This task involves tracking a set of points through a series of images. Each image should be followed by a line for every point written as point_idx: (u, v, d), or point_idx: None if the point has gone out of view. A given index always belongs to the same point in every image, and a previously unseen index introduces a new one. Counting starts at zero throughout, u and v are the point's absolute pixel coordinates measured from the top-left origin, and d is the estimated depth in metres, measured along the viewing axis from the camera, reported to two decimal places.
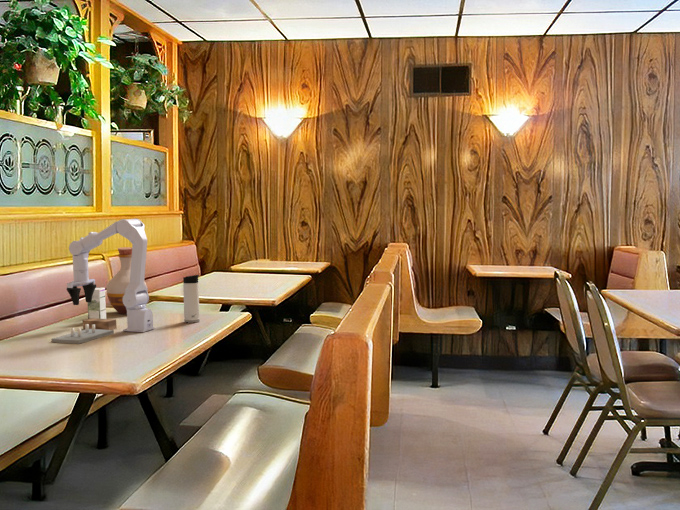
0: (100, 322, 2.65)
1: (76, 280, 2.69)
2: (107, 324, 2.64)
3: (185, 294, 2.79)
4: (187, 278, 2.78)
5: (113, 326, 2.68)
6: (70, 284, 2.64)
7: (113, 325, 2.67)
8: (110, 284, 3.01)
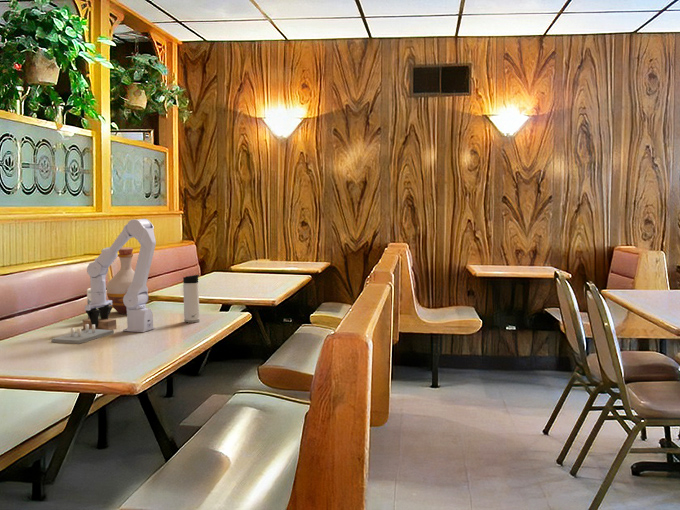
0: (100, 322, 2.65)
1: (94, 302, 2.65)
2: (107, 324, 2.64)
3: (185, 294, 2.79)
4: (187, 278, 2.78)
5: (113, 326, 2.67)
6: (88, 306, 2.61)
7: (113, 325, 2.67)
8: (110, 284, 3.01)
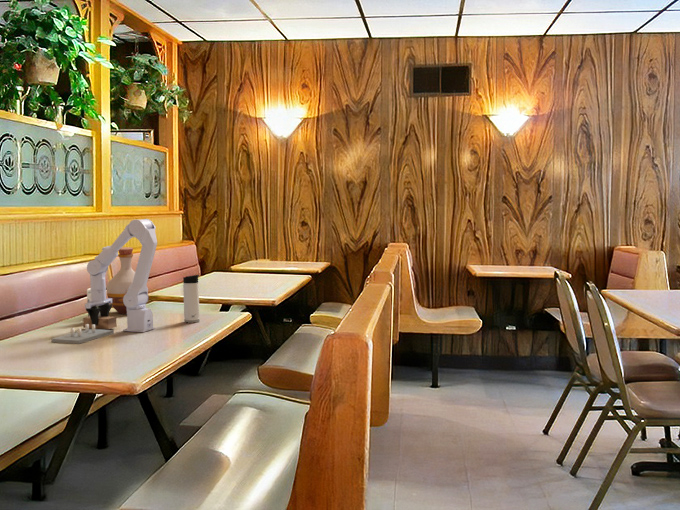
0: (100, 319, 2.65)
1: (94, 300, 2.65)
2: (107, 321, 2.64)
3: (185, 294, 2.79)
4: (187, 278, 2.78)
5: (113, 324, 2.67)
6: (88, 304, 2.61)
7: (113, 323, 2.67)
8: (110, 284, 3.01)
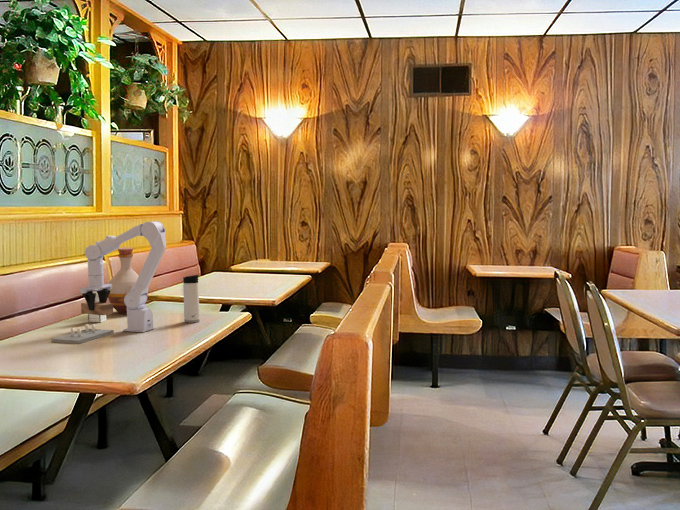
0: (96, 305, 2.63)
1: (90, 285, 2.63)
2: (102, 307, 2.61)
3: (185, 294, 2.79)
4: (187, 278, 2.78)
5: (109, 310, 2.64)
6: (83, 289, 2.59)
7: (109, 309, 2.64)
8: None
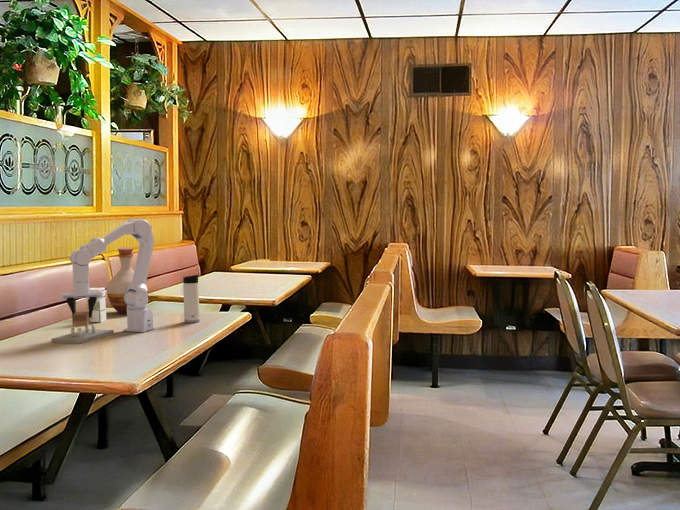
0: None
1: None
2: None
3: (185, 294, 2.79)
4: (187, 278, 2.78)
5: (81, 322, 2.46)
6: (61, 295, 2.49)
7: (80, 320, 2.46)
8: (110, 284, 3.01)
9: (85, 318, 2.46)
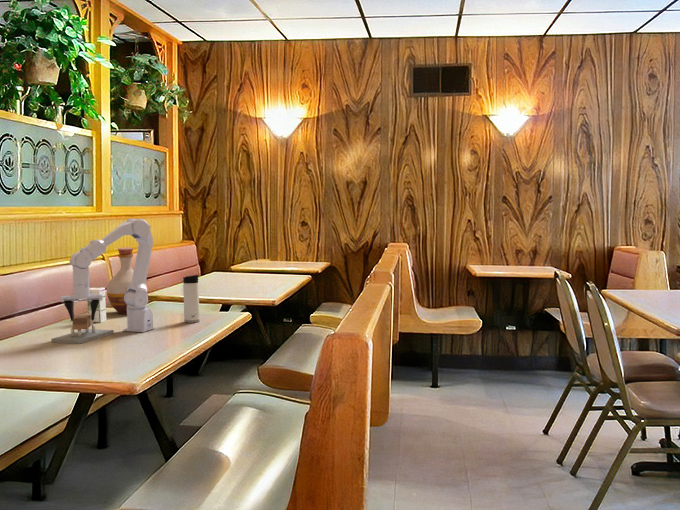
0: None
1: None
2: None
3: (185, 294, 2.79)
4: (187, 278, 2.78)
5: (82, 325, 2.46)
6: (61, 298, 2.49)
7: (81, 324, 2.46)
8: (110, 284, 3.01)
9: (85, 322, 2.46)
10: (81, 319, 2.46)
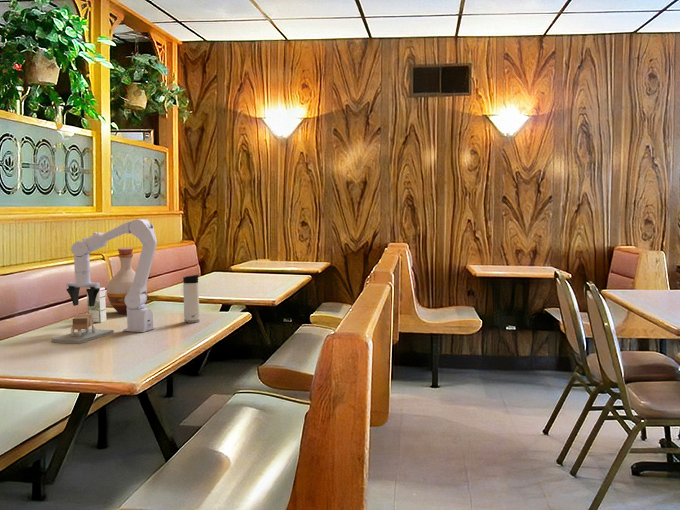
0: None
1: None
2: None
3: (185, 294, 2.79)
4: (187, 278, 2.78)
5: (82, 325, 2.46)
6: None
7: (81, 324, 2.46)
8: (110, 284, 3.01)
9: (85, 322, 2.46)
10: (81, 319, 2.46)
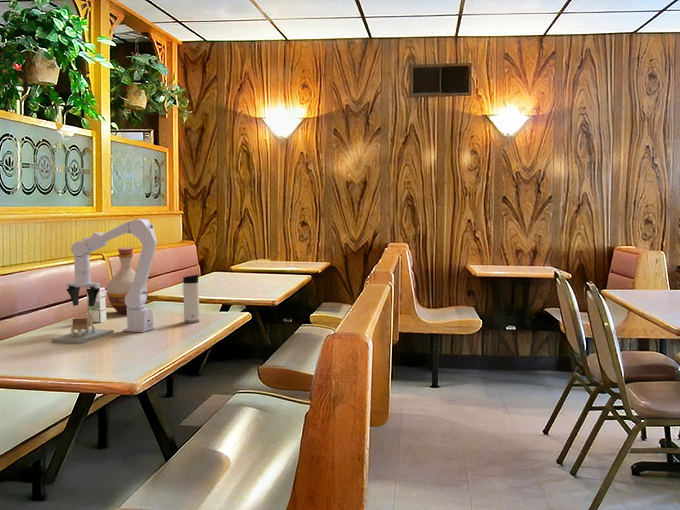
0: None
1: None
2: None
3: (185, 294, 2.79)
4: (187, 278, 2.78)
5: (82, 325, 2.46)
6: None
7: (81, 324, 2.46)
8: (110, 284, 3.01)
9: (85, 322, 2.46)
10: (81, 319, 2.46)
